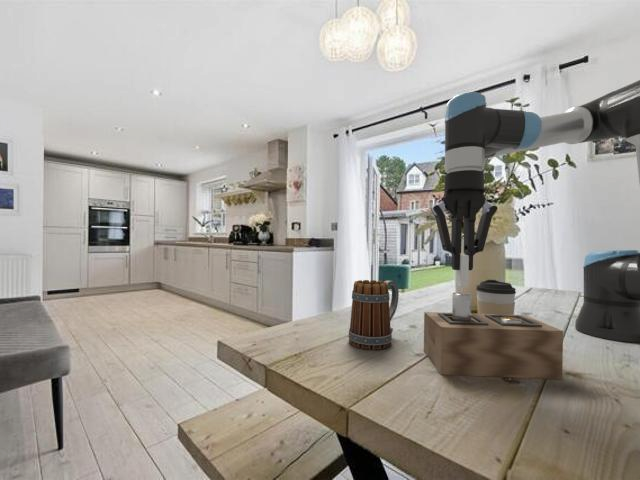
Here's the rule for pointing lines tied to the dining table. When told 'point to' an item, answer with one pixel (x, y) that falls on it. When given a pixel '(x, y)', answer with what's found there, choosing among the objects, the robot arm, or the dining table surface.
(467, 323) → the socket block
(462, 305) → the peg
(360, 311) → the mug
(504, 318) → the peg
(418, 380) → the dining table surface
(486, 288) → the coffee cup
